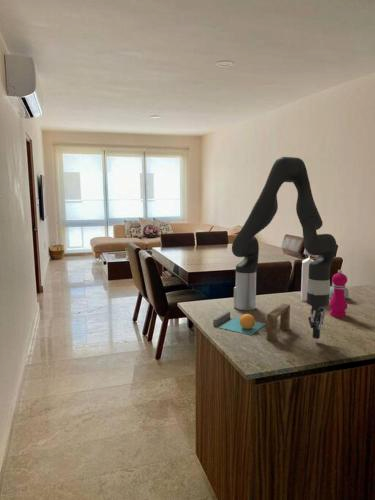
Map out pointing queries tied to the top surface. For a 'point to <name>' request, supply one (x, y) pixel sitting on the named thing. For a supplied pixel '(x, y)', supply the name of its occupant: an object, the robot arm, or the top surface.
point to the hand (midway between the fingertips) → (316, 337)
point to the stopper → (221, 318)
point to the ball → (247, 321)
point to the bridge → (272, 320)
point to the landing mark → (236, 327)
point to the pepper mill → (338, 295)
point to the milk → (305, 278)
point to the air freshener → (333, 291)
